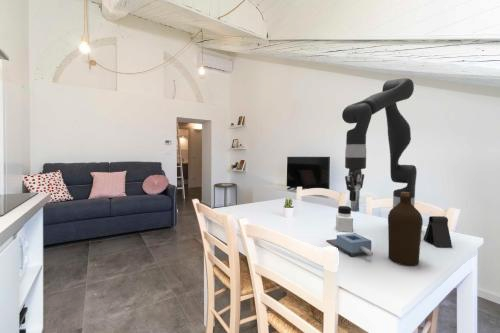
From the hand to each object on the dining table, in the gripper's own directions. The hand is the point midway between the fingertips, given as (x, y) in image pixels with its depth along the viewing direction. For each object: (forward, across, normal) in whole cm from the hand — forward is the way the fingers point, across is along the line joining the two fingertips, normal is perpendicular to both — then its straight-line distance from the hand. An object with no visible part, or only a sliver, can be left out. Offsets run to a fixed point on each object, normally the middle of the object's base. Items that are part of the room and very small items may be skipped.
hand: (354, 200), depth 97 cm
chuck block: (+21, -1, -2) cm, 21 cm away
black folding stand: (+21, +33, -23) cm, 46 cm away
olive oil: (+21, +4, -16) cm, 27 cm away
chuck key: (+4, 0, 0) cm, 4 cm away
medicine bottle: (+21, +25, +14) cm, 36 cm away
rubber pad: (+21, +4, +8) cm, 22 cm away
